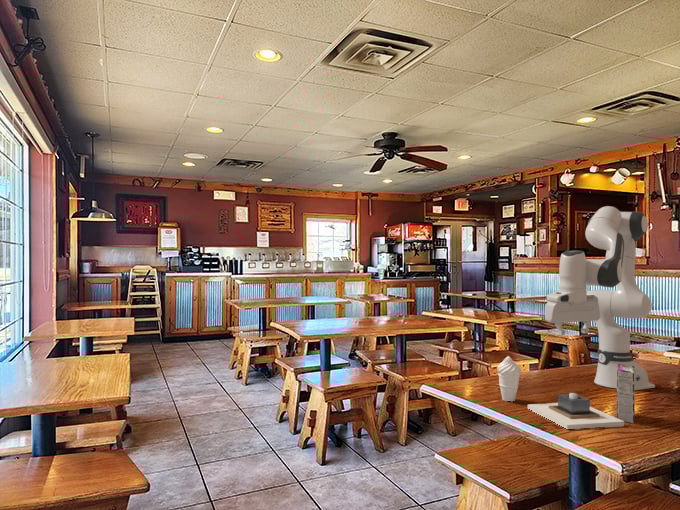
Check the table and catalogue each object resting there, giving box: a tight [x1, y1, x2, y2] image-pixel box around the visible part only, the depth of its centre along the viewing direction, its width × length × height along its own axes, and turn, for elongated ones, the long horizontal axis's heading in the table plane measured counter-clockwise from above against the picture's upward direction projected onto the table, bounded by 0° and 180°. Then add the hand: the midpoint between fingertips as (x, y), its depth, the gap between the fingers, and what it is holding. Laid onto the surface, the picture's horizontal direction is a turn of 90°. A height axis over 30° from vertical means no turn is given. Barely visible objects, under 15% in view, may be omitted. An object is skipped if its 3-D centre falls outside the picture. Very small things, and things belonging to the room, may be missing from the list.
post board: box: [527, 392, 625, 430], centre depth 153 cm, size 20×20×8 cm
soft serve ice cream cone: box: [496, 355, 522, 403], centre depth 170 cm, size 8×8×16 cm
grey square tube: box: [557, 393, 591, 415], centre depth 153 cm, size 7×7×5 cm
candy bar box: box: [616, 364, 636, 424], centre depth 153 cm, size 11×5×16 cm, turn 148°
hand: (573, 334), depth 168 cm, fingers open, 8 cm apart
